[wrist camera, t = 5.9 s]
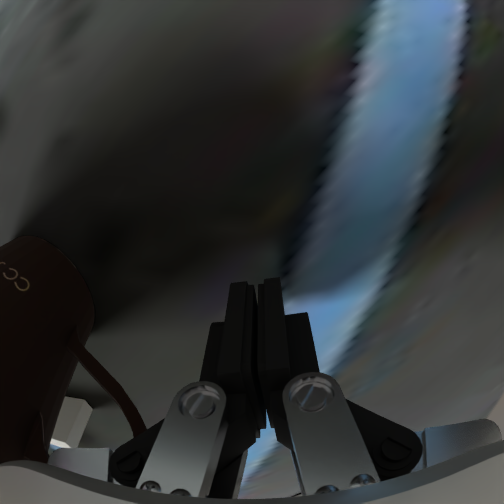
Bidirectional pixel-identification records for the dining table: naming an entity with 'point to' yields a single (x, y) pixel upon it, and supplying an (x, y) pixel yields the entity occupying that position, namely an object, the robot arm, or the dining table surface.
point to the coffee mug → (44, 346)
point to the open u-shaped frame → (71, 422)
